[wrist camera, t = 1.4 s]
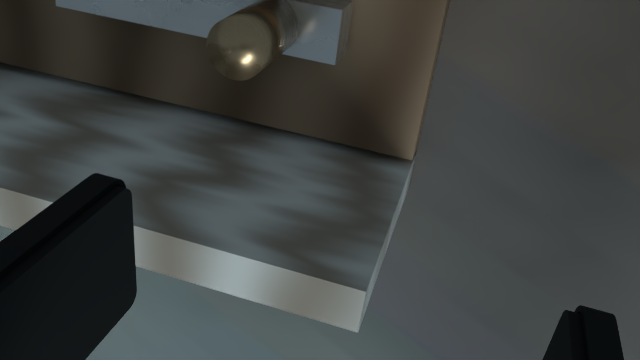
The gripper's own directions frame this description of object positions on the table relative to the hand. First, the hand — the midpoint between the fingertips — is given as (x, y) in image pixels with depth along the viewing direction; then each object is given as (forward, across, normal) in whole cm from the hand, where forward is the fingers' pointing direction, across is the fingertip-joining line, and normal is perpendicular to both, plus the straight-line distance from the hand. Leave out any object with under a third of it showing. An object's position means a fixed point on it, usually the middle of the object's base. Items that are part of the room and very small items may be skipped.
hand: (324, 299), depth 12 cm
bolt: (+18, +11, 0) cm, 21 cm away
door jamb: (+20, +16, +1) cm, 26 cm away
